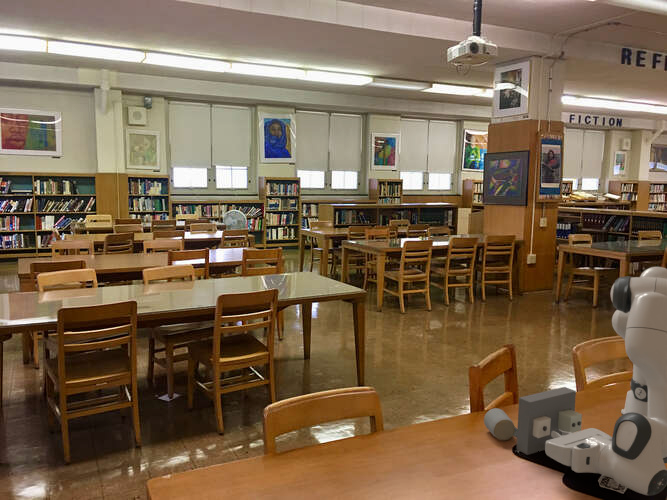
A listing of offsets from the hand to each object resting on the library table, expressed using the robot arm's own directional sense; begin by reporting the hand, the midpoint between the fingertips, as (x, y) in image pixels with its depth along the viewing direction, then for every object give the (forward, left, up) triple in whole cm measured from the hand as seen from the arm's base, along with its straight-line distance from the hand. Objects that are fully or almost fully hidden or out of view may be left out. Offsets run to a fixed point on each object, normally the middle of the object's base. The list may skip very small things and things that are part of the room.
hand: (554, 432), depth 149 cm
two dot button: (-11, -4, -3) cm, 12 cm away
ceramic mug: (+1, -18, -9) cm, 20 cm away
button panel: (-6, -8, -8) cm, 12 cm away
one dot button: (0, -6, -3) cm, 7 cm away
